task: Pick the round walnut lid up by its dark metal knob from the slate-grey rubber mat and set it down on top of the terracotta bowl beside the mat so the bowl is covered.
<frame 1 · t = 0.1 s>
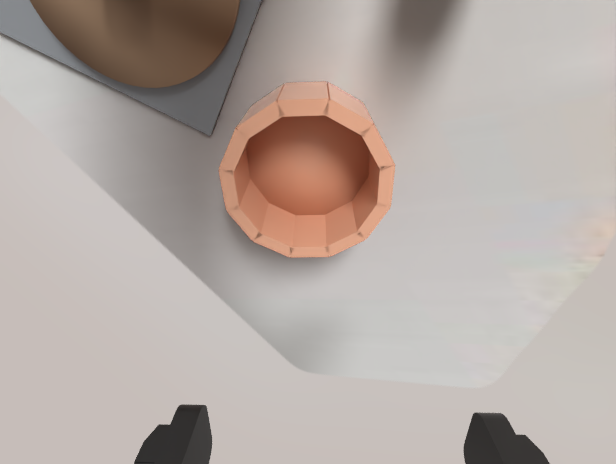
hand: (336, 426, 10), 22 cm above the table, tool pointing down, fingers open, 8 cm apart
bowl: (308, 158, 29), on the table
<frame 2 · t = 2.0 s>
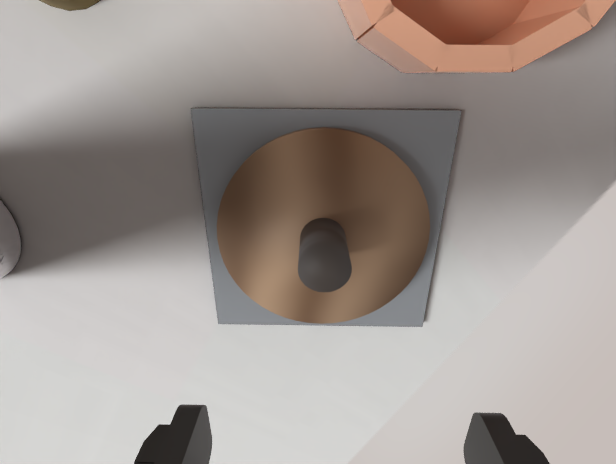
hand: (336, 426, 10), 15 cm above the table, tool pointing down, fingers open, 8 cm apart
mat: (322, 229, 24), on the table
lid: (322, 232, 24), resting on mat
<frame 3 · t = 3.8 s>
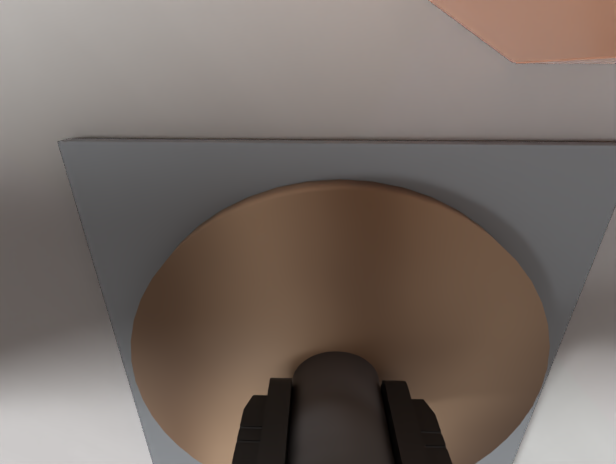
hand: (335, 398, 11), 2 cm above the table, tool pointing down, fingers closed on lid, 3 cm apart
mat: (332, 351, 13), on the table
lid: (334, 362, 13), point 1 cm above the table, touching gripper, mat
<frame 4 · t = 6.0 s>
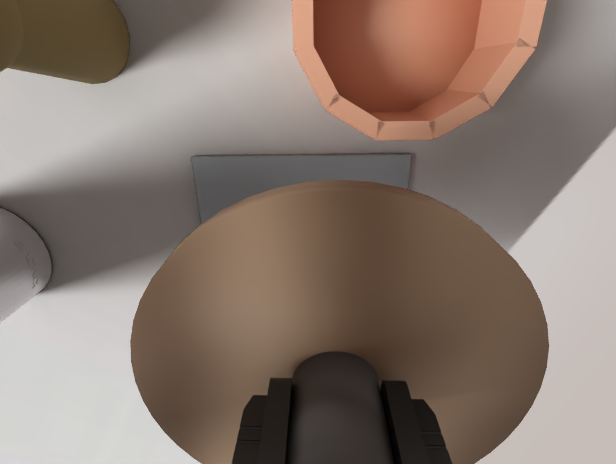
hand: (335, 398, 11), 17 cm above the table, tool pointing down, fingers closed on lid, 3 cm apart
cork: (84, 33, 23), on the table
mat: (302, 250, 29), on the table
lid: (333, 362, 13), point 16 cm above the table, touching gripper
bowl: (391, 27, 22), on the table
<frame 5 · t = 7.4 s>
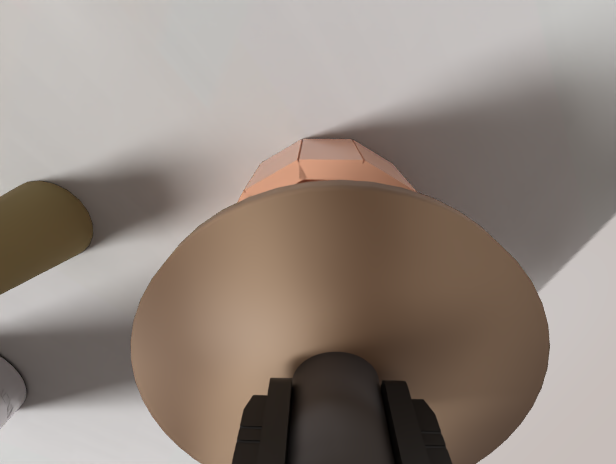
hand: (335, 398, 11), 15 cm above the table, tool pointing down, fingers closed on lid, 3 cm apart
cork: (52, 219, 25), on the table
lid: (334, 362, 13), point 13 cm above the table, touching gripper
bowl: (325, 224, 25), on the table
when the fingers open (9 cm above the table, at t = 8.6 s): lid drops 1 cm, resting on bowl.
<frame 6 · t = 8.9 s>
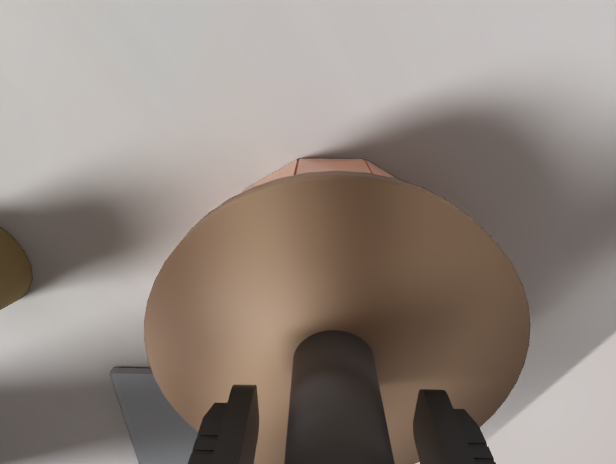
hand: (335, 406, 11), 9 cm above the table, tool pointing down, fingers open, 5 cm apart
mat: (243, 448, 26), on the table
lid: (332, 342, 14), point 6 cm above the table, touching bowl
bowl: (328, 266, 19), on the table, touching lid
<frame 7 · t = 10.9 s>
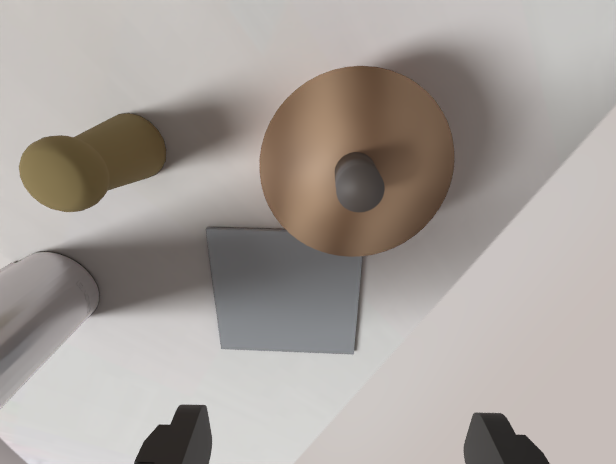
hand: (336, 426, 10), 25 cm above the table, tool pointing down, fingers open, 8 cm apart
cork: (135, 146, 32), on the table
mat: (286, 294, 38), on the table
lid: (354, 169, 26), point 6 cm above the table, touching bowl
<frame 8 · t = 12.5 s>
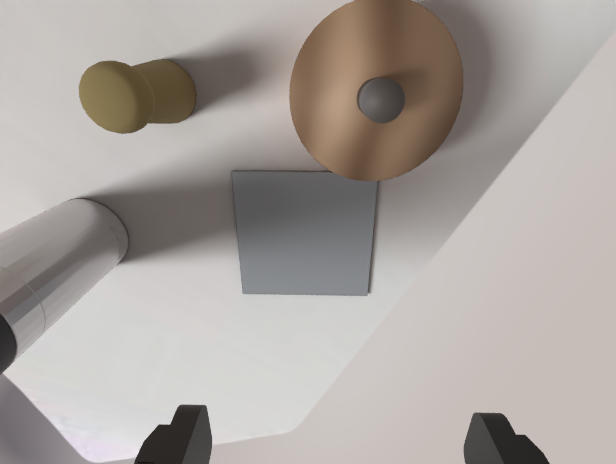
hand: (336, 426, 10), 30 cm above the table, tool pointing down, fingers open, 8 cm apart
cork: (167, 92, 35), on the table
mat: (304, 236, 41), on the table
lid: (373, 97, 29), point 6 cm above the table, touching bowl
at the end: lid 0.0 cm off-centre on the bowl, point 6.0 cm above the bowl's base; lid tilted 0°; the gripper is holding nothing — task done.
